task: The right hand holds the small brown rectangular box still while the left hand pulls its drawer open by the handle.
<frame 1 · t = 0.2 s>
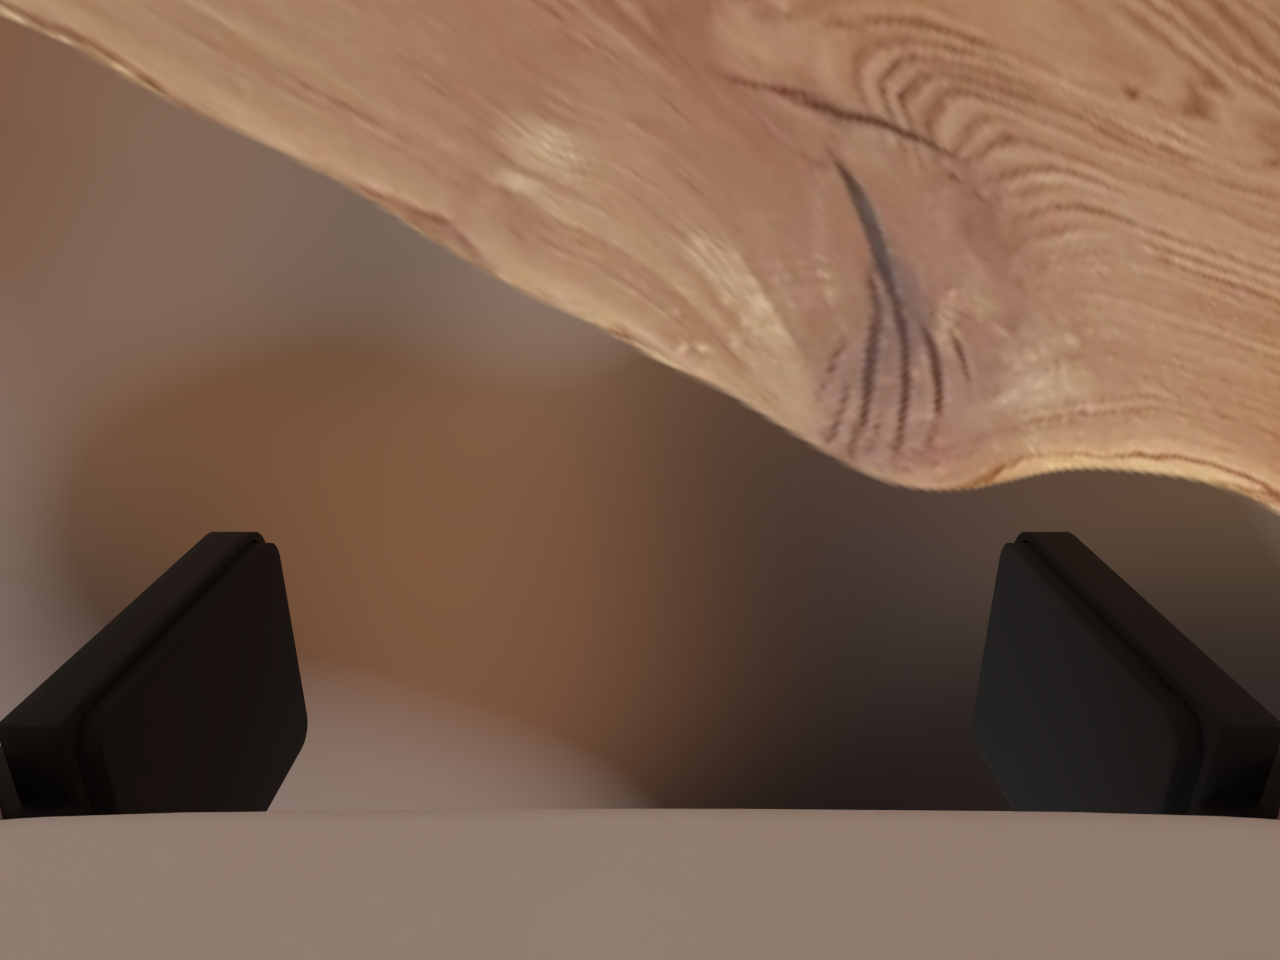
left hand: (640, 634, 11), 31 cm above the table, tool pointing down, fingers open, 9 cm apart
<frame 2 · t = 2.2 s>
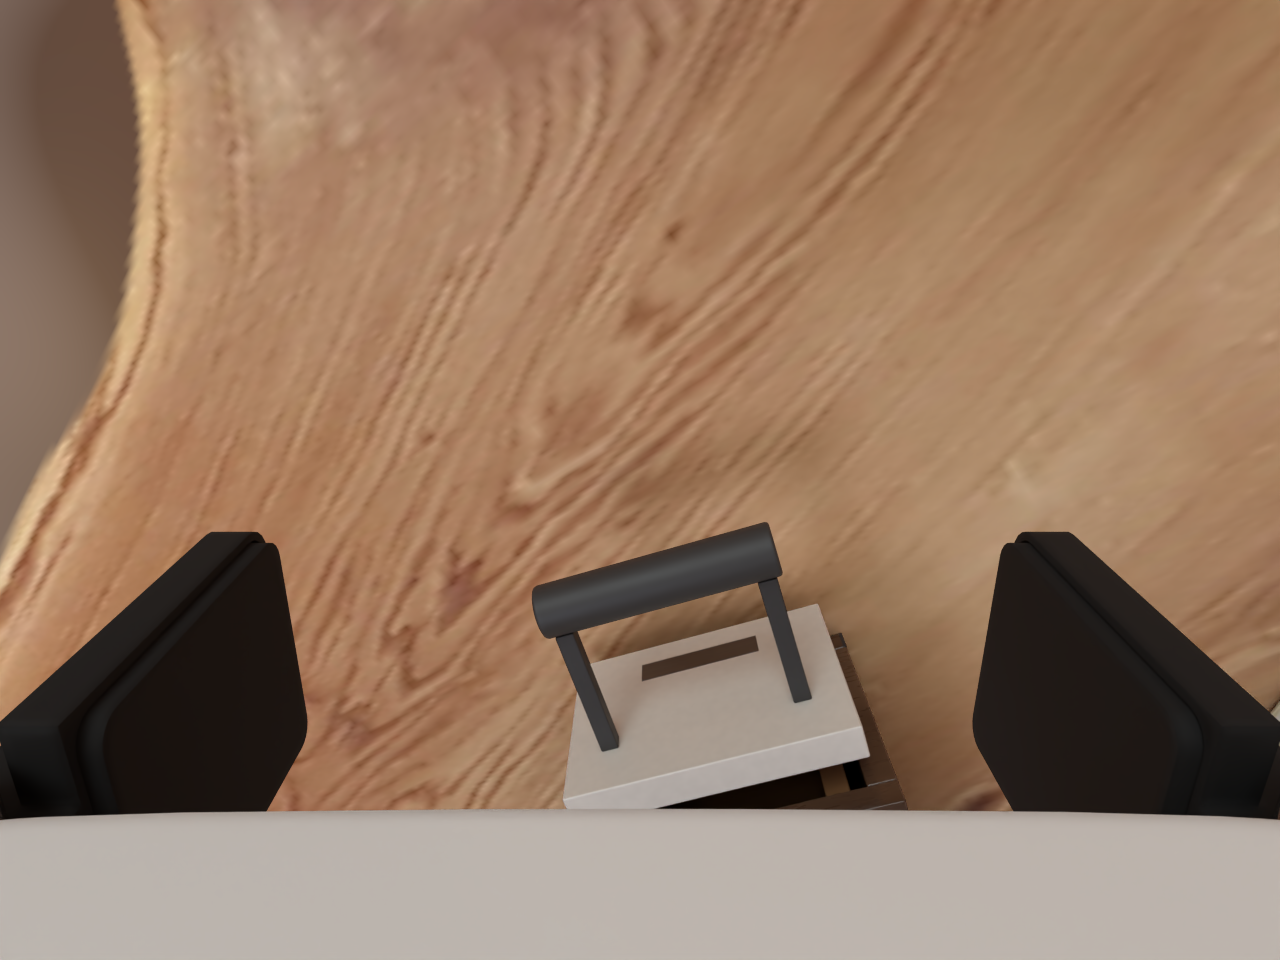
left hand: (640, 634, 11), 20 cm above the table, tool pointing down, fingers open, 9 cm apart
brown rectangular box: (757, 806, 37), on the table
drawer: (730, 774, 31), point 5 cm above the table, slide at 1.0 cm
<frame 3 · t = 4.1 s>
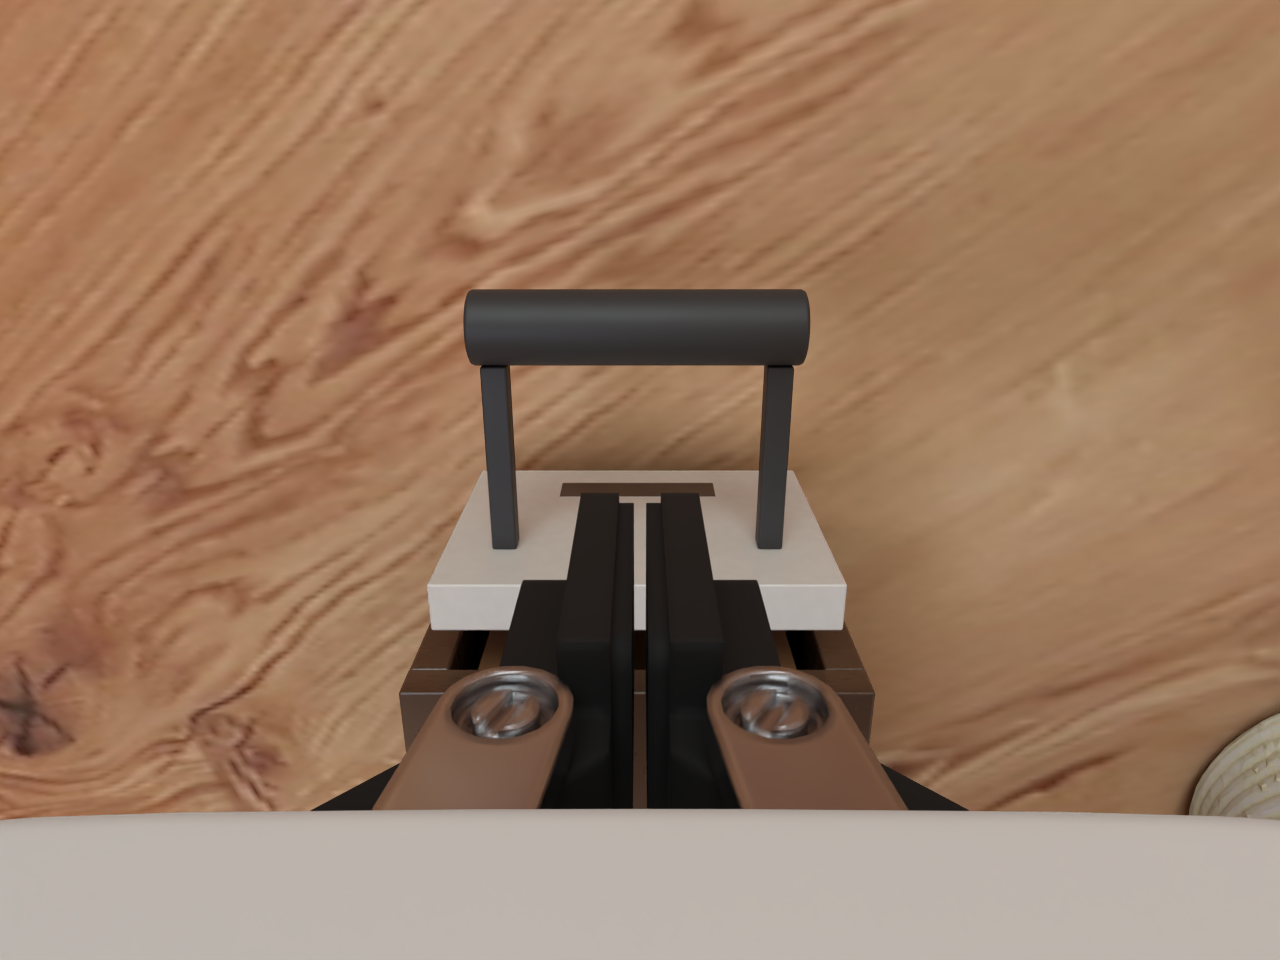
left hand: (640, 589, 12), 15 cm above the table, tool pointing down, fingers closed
brown rectangular box: (638, 713, 31), on the table, touching right hand
drawer: (637, 639, 24), point 5 cm above the table, slide at 1.0 cm
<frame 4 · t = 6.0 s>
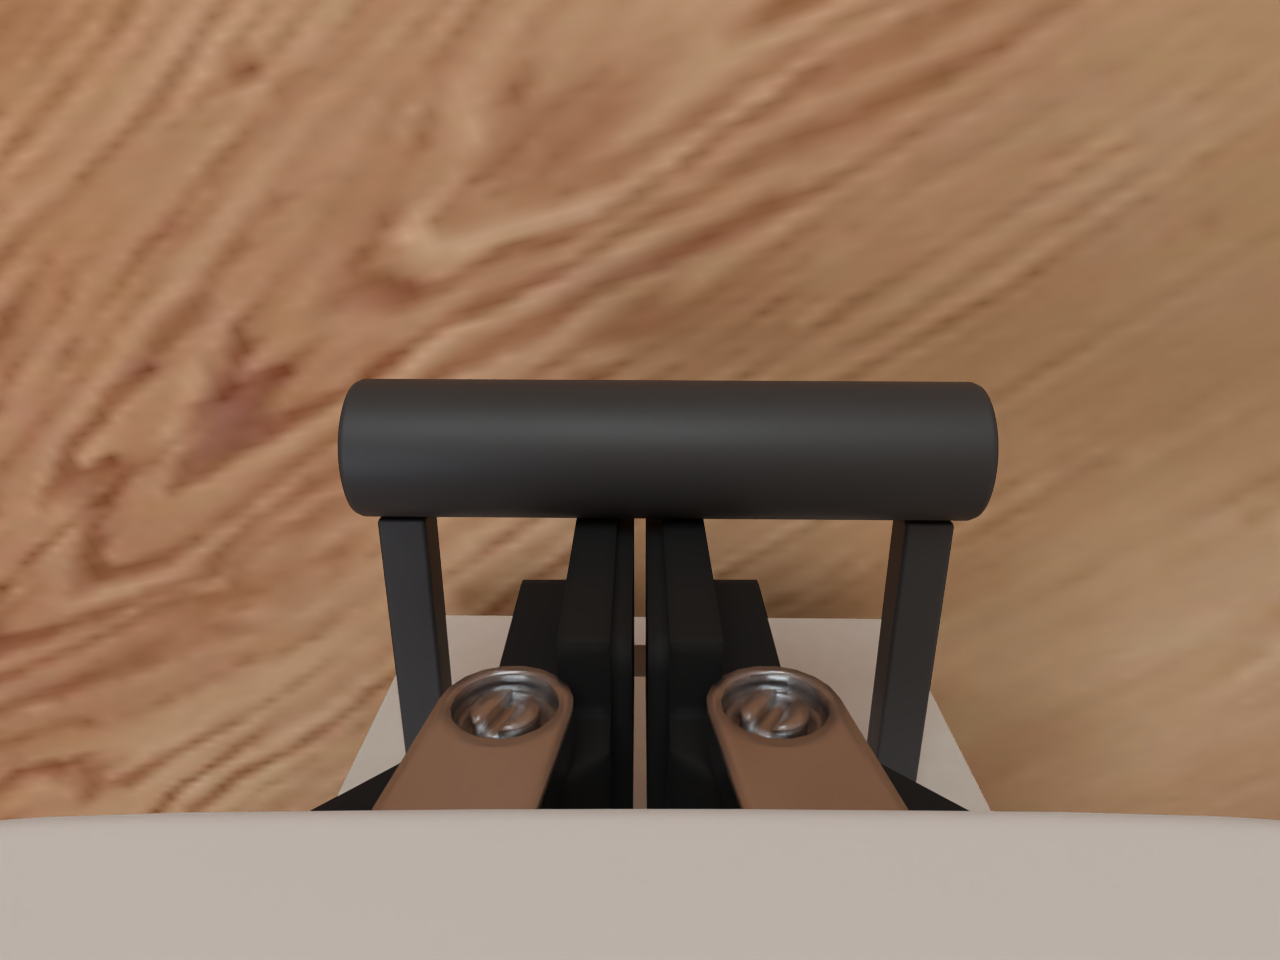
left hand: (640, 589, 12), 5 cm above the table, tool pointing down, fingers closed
drawer: (657, 903, 15), point 5 cm above the table, slide at 1.2 cm, touching left hand
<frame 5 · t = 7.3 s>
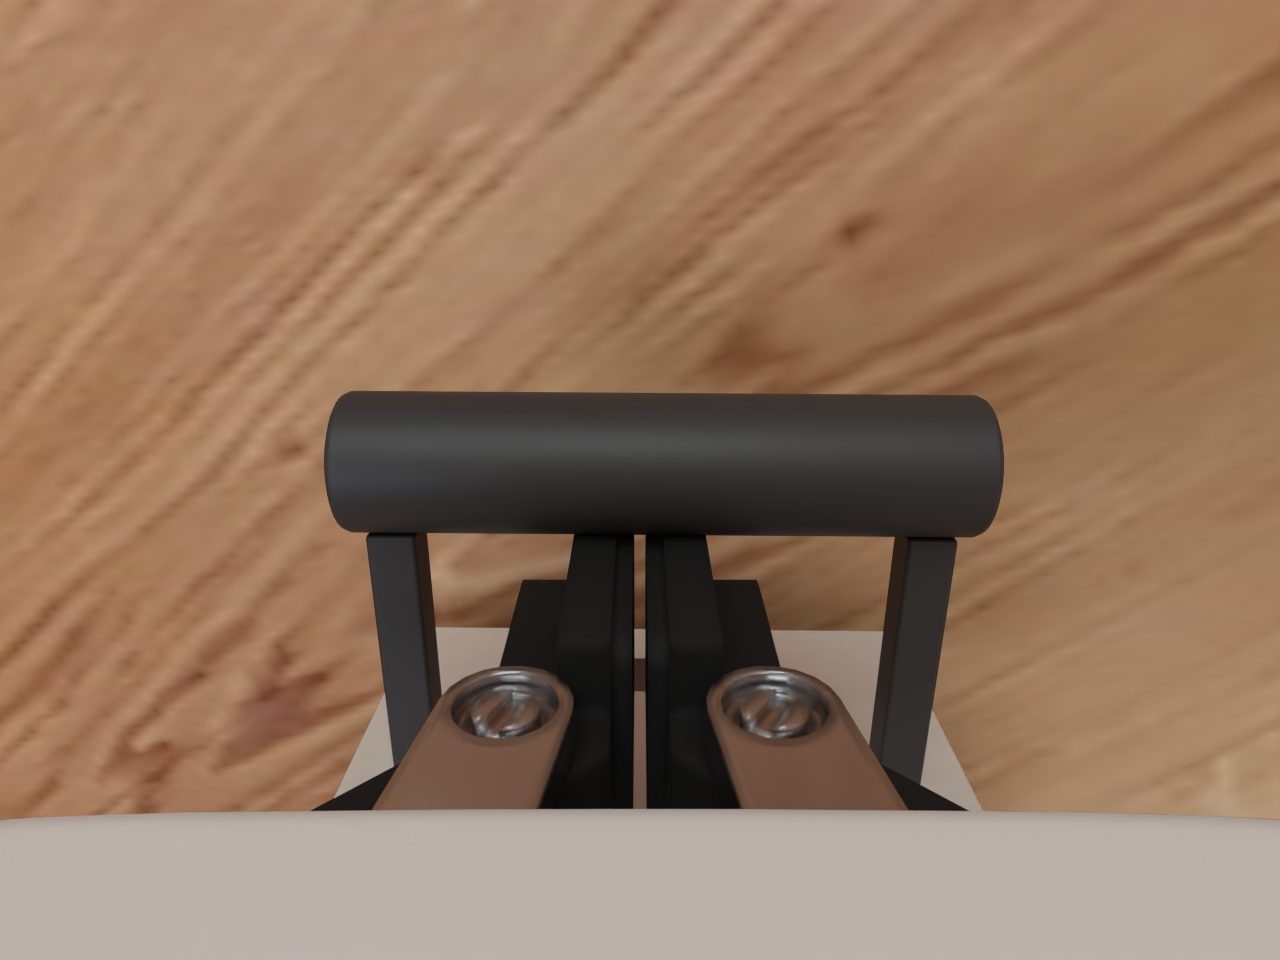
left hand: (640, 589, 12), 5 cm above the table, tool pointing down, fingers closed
drawer: (653, 922, 15), point 5 cm above the table, slide at 7.9 cm, touching left hand
when the right hand's fingers open (4 cm above the table, at t = 8.9 s): brown rectangular box stays where it is, on the table.
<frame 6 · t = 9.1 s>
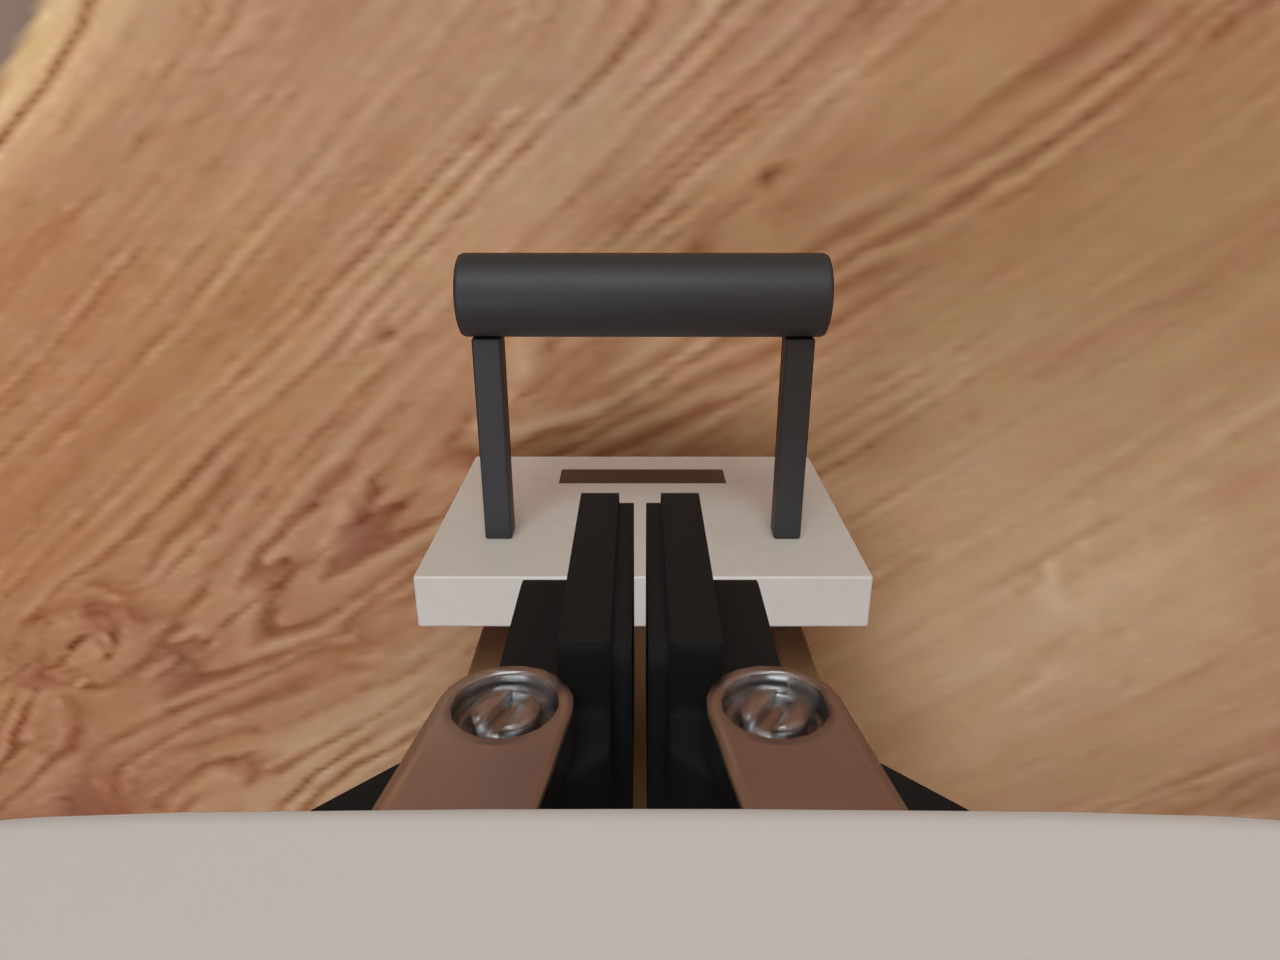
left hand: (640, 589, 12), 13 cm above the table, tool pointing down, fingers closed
drawer: (642, 637, 22), point 5 cm above the table, slide at 7.9 cm
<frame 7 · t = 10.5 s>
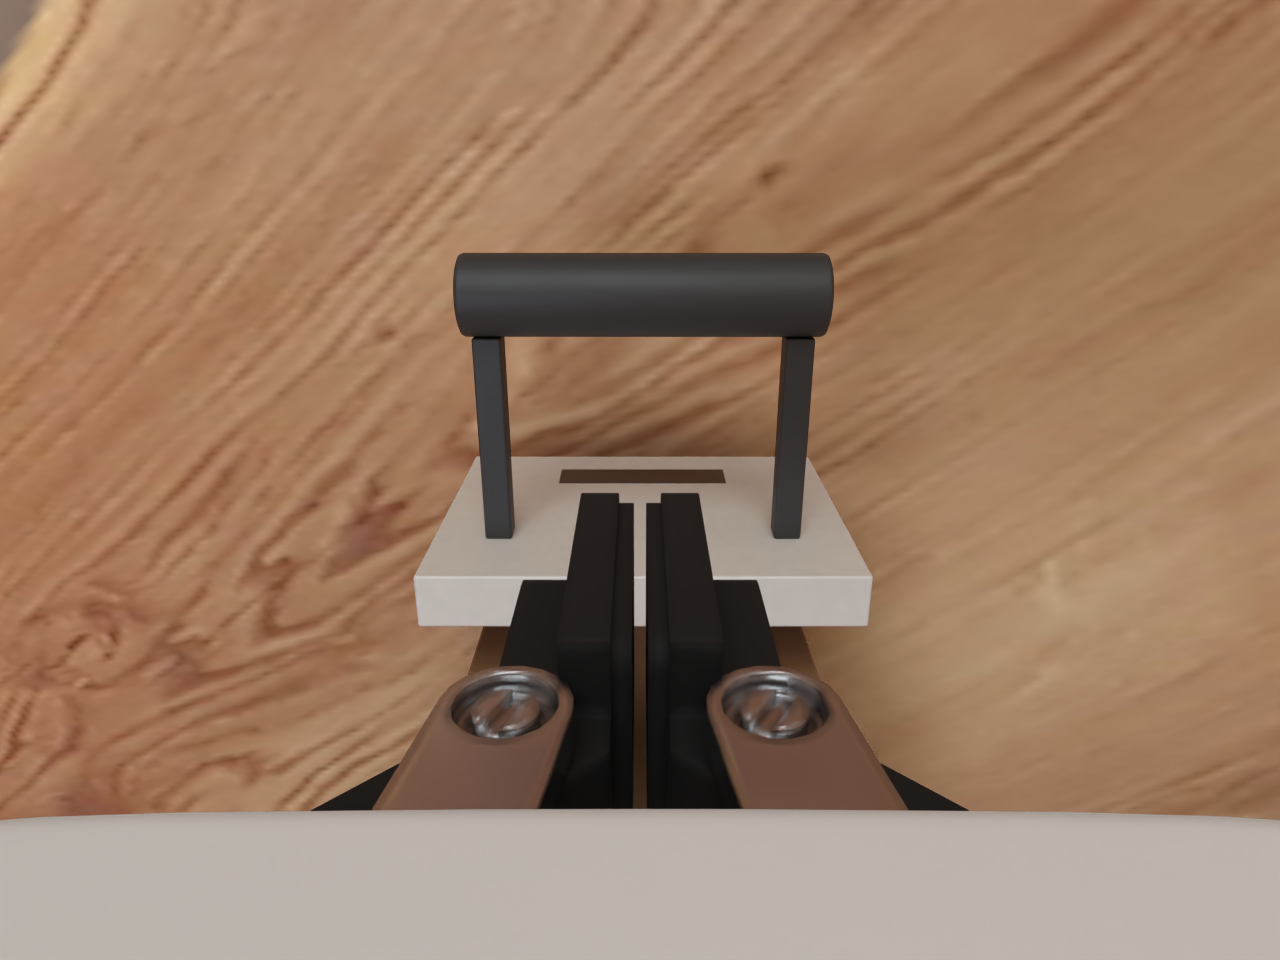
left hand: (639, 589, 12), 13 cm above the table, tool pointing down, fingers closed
drawer: (642, 637, 22), point 5 cm above the table, slide at 7.9 cm
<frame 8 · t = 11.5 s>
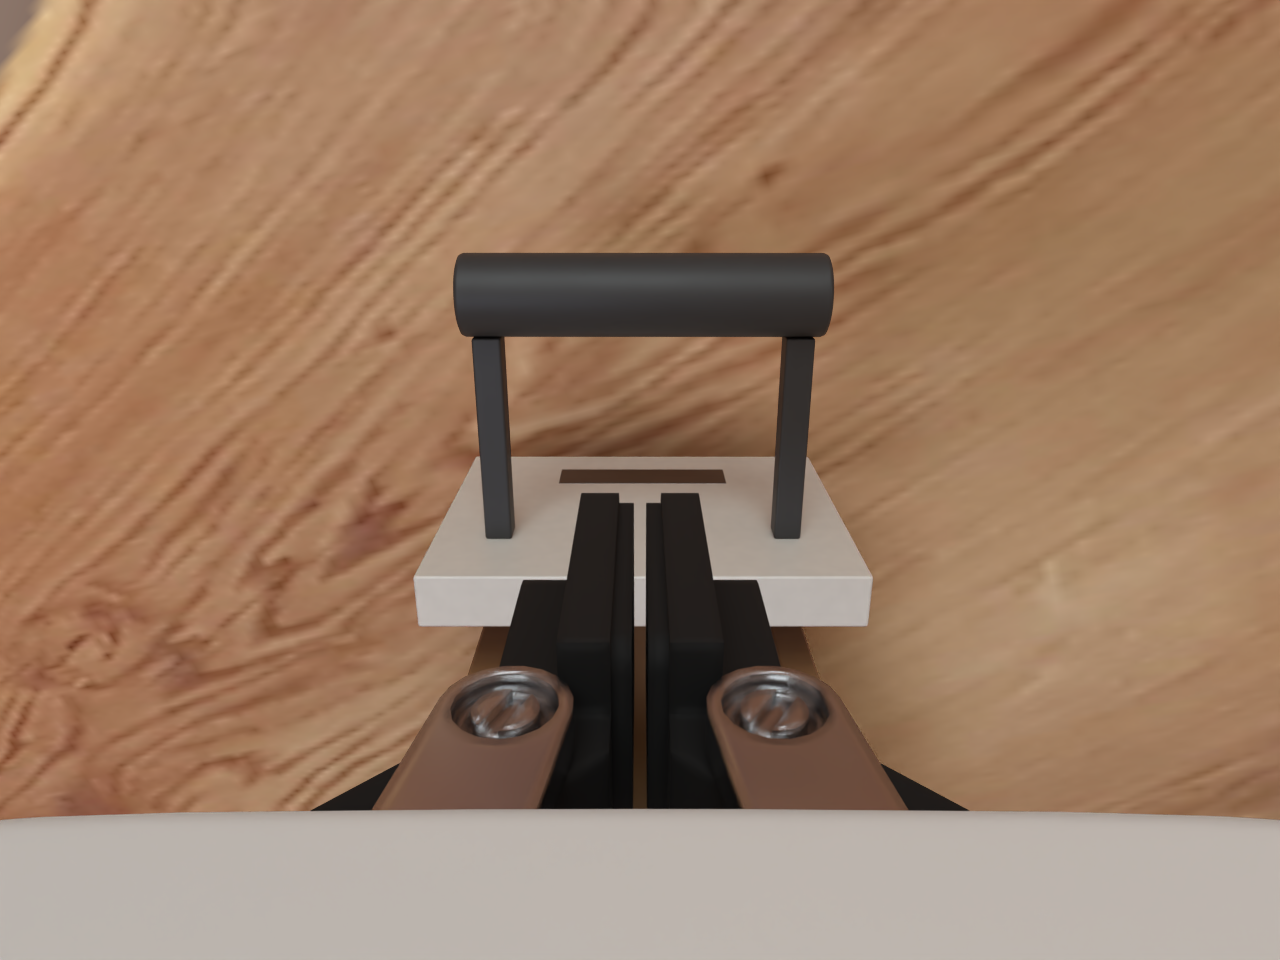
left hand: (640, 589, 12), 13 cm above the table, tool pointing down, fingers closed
drawer: (642, 637, 22), point 5 cm above the table, slide at 7.9 cm
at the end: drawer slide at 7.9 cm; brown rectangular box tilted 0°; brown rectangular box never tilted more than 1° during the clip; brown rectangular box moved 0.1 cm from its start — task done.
